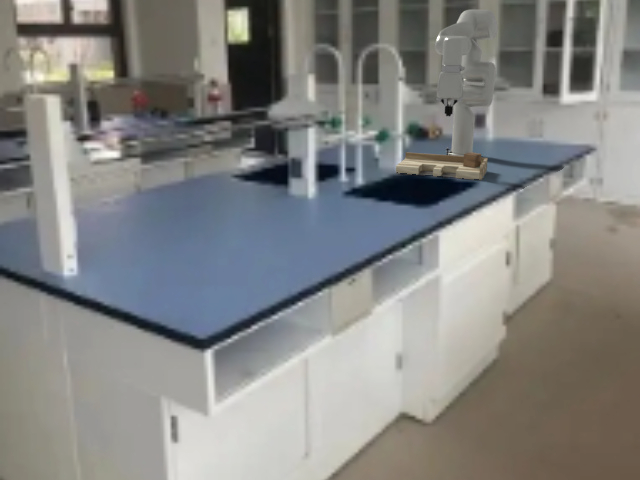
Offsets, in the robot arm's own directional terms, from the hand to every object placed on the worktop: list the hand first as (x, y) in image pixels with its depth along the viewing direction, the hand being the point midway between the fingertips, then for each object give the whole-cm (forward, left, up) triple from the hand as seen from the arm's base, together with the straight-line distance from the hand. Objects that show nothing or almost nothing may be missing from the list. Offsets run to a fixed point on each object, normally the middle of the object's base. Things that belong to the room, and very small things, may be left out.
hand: (448, 115), depth 284 cm
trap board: (+6, 0, -22) cm, 23 cm away
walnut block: (+4, +11, -19) cm, 23 cm away
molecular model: (-11, +5, -22) cm, 25 cm away
